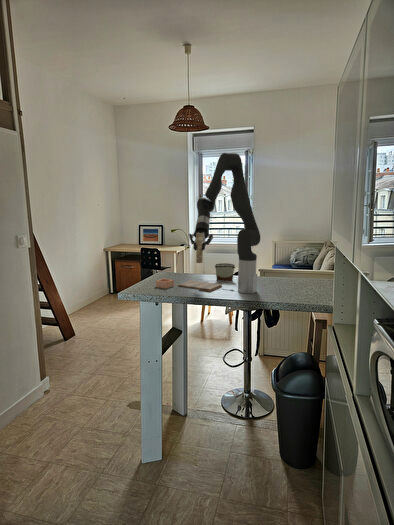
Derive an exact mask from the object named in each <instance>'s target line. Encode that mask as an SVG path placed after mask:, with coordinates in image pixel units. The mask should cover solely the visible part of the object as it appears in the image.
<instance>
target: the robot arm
mask: <svg viewBox="0 0 394 525" xmlns="http://www.w3.org/2000/svg"><path fill="white" fill-rule="evenodd" d="M226 171H227V172H229V171H231V173H232V178H233V183H232V187H231V190H230V199H231V204H232V207H233V209H234V211H235V212H236V214H237V215H238V216H239V217H240V219H241V220H242V222H243V225H244V228H242V229H240V230H239V231H238V233H237V240H236V245H237V246H236V247H237V249H236V252H237V255H238V271H237V273H238V274H237V292H238V293H240V294H251V295H252V294H255V293H256V292H257V288H258V273H257V262H258V261H257V259H258V258H257V257H258V255H257V253H254V252H253V250H252V247H255V246H258V245H259V244H260V242H261V232H260V229H259V227H258V224H257V221H256V219H255V216H254V213H253V212H254V211H253V208H252V204H251V200H250V196H249V192H248V190H247V189H248V188H247V185H246V179H245V174H244V169H243V163H242V158H241V156H240V154H239V153H236V152H226V151H225V152H223V153H221V154H220V155H219V158H218V159H217V162H216V166H215V169H214V172H213V176H212V178H211V181H210V183H209V185H208V187H207V188H206V191H205V194H204V196H205V197H202V196H201V197H199V198H198V200H197V202H196V208H197V218H196V224H195V230H194V232H193V233H192V234H191V233H189V234H188V236H189V241H190V243H191V245H193V250H194V251H196V233H203V244H202V251H203V252H204V251H205V250H206V246H209V245H210V244H211V242H212V240H213V239H214V235H213V233H211V234H209V231H210V230H209V229H210V224H211V223H210V222H211V221H210V219H211V212H213V211H214V209H215V204H216V200H217V198H218V195H219V194H220V192H221V190H222V187H223V181H222V178H223V175H224V173H225V172H226ZM206 239H207V240H206Z"/></svg>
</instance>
